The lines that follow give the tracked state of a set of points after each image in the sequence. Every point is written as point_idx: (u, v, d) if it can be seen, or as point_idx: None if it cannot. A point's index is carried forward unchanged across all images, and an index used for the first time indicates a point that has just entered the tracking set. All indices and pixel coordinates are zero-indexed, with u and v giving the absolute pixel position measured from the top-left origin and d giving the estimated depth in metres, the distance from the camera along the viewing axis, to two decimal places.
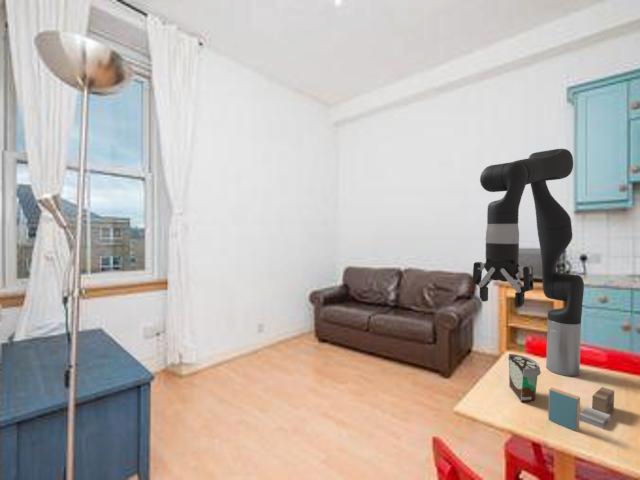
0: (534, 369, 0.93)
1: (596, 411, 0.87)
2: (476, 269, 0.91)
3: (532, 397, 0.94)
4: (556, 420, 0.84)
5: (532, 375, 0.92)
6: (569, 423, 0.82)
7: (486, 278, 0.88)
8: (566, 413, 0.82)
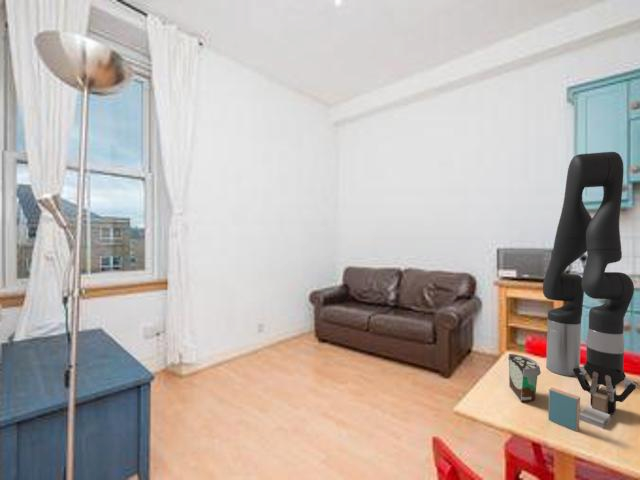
0: (534, 369, 0.93)
1: (596, 411, 0.87)
2: (579, 375, 0.92)
3: (532, 397, 0.94)
4: (556, 420, 0.84)
5: (532, 375, 0.92)
6: (569, 423, 0.82)
7: (594, 384, 0.89)
8: (566, 413, 0.82)
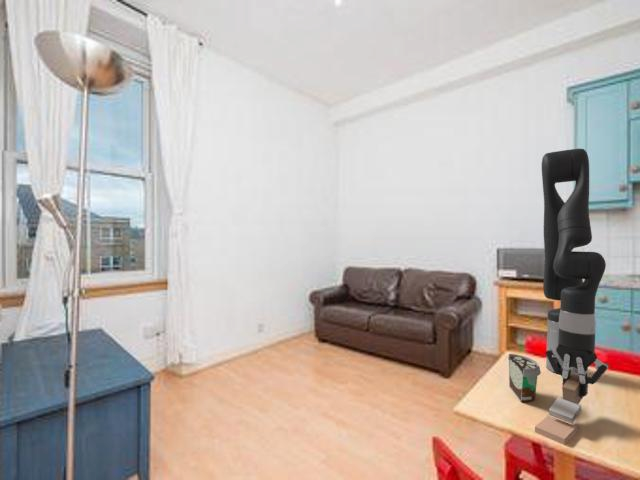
0: (534, 369, 0.93)
1: (566, 402, 0.84)
2: (551, 358, 0.90)
3: (532, 397, 0.94)
4: None
5: (532, 375, 0.92)
6: None
7: (566, 367, 0.87)
8: None
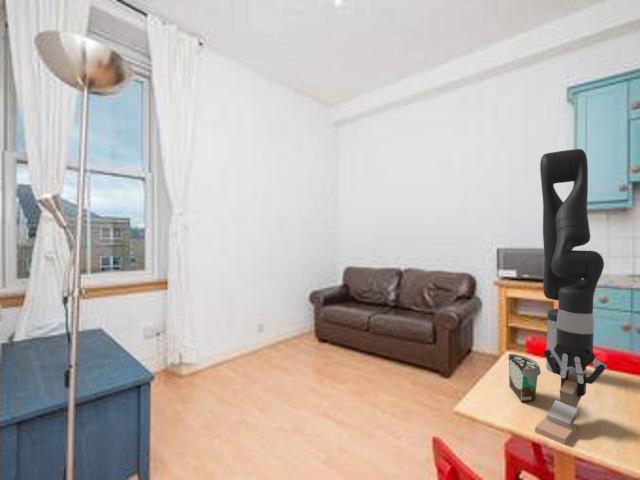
0: (534, 369, 0.93)
1: (564, 405, 0.84)
2: (549, 357, 0.90)
3: (532, 397, 0.94)
4: None
5: (532, 375, 0.92)
6: None
7: (564, 367, 0.87)
8: None
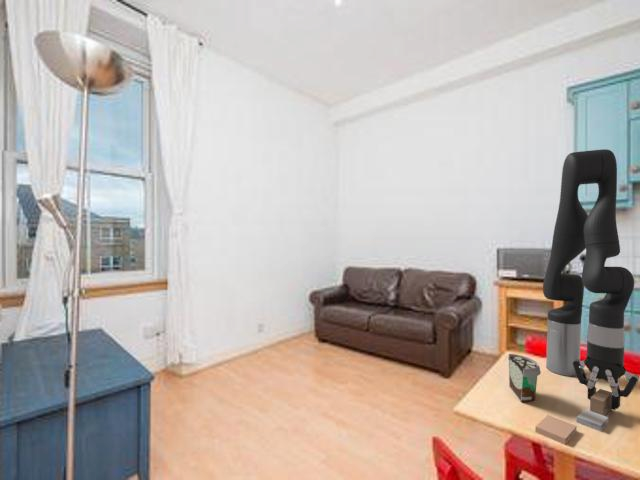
0: (534, 369, 0.93)
1: (594, 413, 0.86)
2: (578, 368, 0.93)
3: (532, 397, 0.94)
4: None
5: (532, 375, 0.92)
6: None
7: (593, 378, 0.90)
8: None
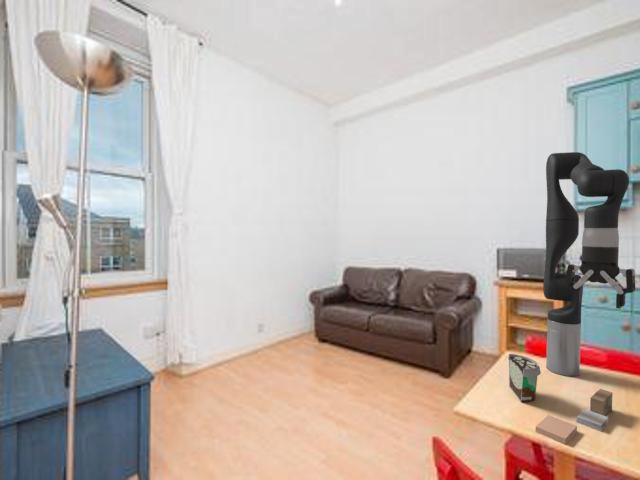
0: (534, 369, 0.93)
1: (594, 413, 0.86)
2: (570, 271, 0.94)
3: (532, 397, 0.94)
4: None
5: (532, 375, 0.92)
6: None
7: (583, 280, 0.92)
8: None
